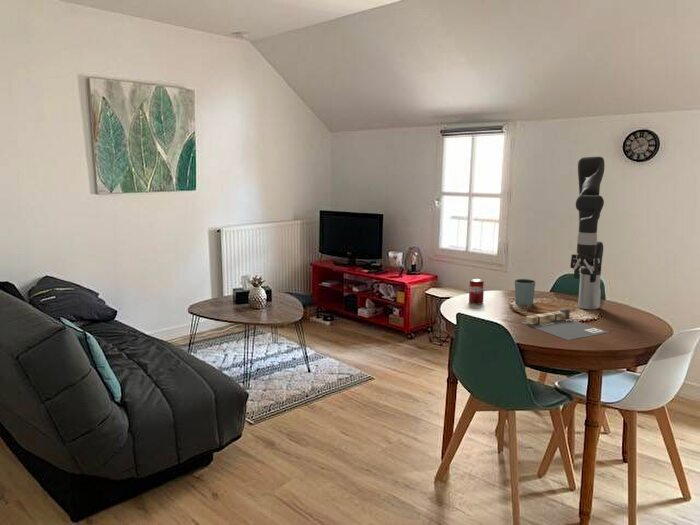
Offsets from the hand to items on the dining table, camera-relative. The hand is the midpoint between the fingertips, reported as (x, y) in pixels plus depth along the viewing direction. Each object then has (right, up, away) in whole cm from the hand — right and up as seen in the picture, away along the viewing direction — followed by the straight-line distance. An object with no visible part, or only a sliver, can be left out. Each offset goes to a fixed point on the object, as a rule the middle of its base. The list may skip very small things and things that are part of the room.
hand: (584, 280), depth 229 cm
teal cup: (-11, -14, +47) cm, 50 cm away
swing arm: (-10, -19, +15) cm, 26 cm away
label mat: (-6, -21, +7) cm, 23 cm away
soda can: (-35, -14, +50) cm, 62 cm away
